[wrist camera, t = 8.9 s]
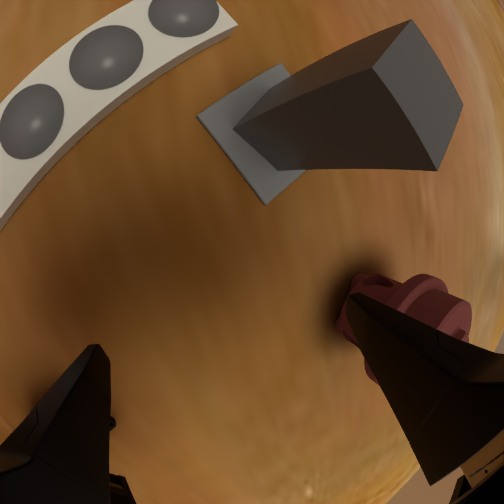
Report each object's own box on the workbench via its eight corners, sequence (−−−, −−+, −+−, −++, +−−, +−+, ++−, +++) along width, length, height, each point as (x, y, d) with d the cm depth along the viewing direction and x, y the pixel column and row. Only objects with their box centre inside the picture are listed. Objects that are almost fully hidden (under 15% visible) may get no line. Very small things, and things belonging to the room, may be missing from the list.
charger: (277, 170, 20) (437, 171, 8) (232, 129, 18) (371, 67, 7) (311, 127, 20) (463, 103, 9) (271, 86, 18) (412, 18, 7)
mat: (263, 204, 21) (266, 205, 20) (196, 116, 17) (197, 115, 17) (332, 144, 22) (336, 144, 22) (278, 64, 19) (281, 62, 18)
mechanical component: (317, 362, 27) (312, 271, 24) (387, 325, 30) (390, 243, 27) (401, 436, 16) (431, 333, 13) (469, 372, 19) (495, 276, 16)
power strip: (-16, 255, 13) (-33, 265, 11) (-53, 198, 11) (-72, 201, 8) (229, 36, 17) (242, 19, 14) (184, -11, 14) (192, -31, 12)
